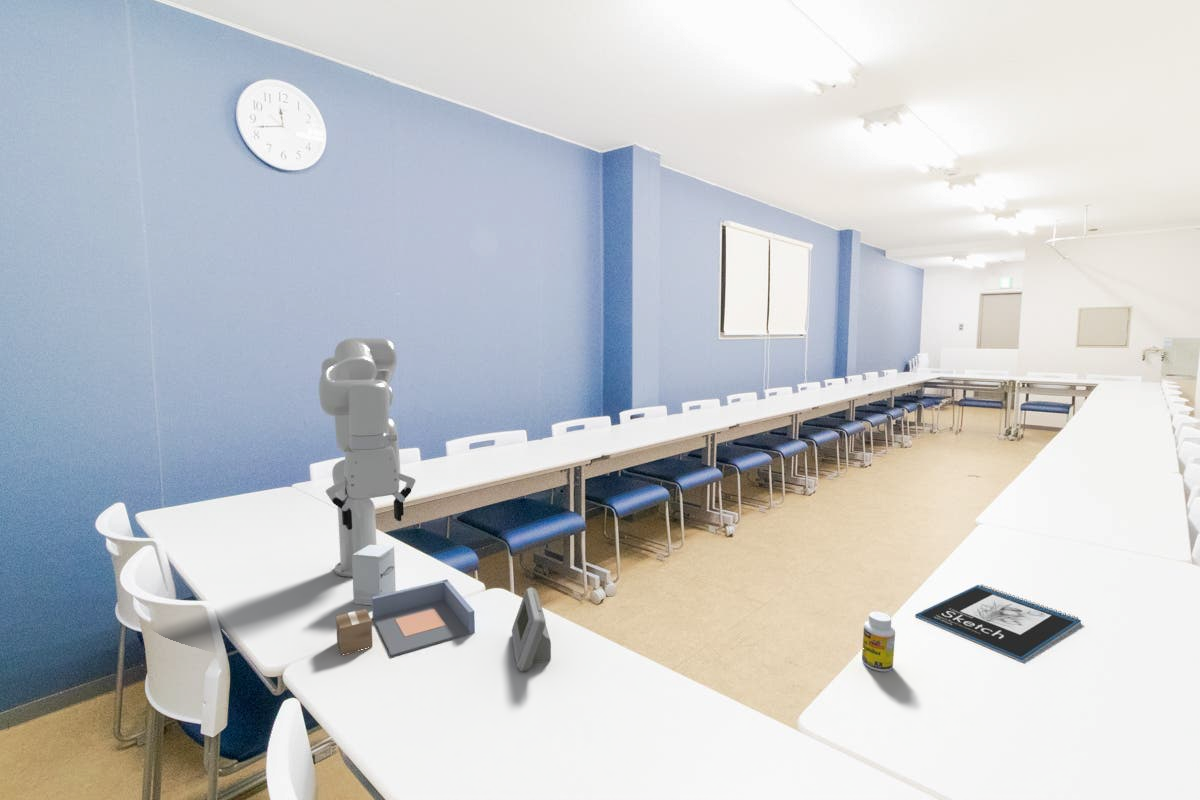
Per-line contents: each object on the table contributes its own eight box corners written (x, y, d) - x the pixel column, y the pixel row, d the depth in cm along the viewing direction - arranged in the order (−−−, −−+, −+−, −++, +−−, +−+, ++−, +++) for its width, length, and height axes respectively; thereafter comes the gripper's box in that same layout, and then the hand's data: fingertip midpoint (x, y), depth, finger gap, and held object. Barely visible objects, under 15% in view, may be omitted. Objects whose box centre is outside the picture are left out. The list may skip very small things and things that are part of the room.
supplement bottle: (855, 660, 112) (858, 612, 111) (874, 654, 115) (877, 607, 114) (879, 675, 107) (882, 625, 106) (899, 668, 110) (902, 619, 108)
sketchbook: (914, 619, 130) (915, 611, 130) (979, 589, 146) (979, 582, 146) (1021, 664, 112) (1022, 655, 112) (1082, 625, 127) (1082, 616, 127)
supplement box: (380, 607, 135) (377, 556, 133) (352, 604, 136) (350, 554, 135) (396, 593, 142) (395, 545, 140) (370, 590, 143) (368, 543, 142)
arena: (372, 617, 129) (371, 597, 129) (447, 598, 139) (447, 579, 138) (391, 657, 113) (390, 633, 113) (474, 632, 123) (474, 610, 122)
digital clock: (513, 631, 124) (512, 585, 122) (553, 630, 124) (553, 585, 123) (502, 675, 107) (501, 622, 106) (549, 674, 108) (549, 622, 107)
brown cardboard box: (337, 642, 119) (335, 615, 118) (367, 634, 122) (365, 608, 121) (341, 656, 114) (340, 628, 113) (372, 647, 117) (371, 620, 116)
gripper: (408, 436, 122) (411, 512, 123) (320, 444, 112) (325, 526, 114) (418, 440, 116) (421, 520, 117) (326, 449, 106) (331, 536, 107)
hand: (374, 523), depth 115 cm, fingers open, 9 cm apart
